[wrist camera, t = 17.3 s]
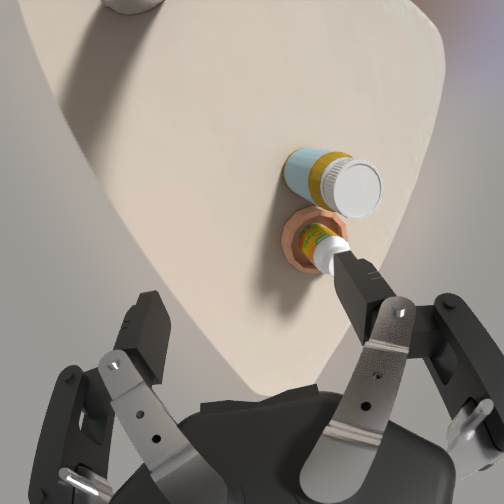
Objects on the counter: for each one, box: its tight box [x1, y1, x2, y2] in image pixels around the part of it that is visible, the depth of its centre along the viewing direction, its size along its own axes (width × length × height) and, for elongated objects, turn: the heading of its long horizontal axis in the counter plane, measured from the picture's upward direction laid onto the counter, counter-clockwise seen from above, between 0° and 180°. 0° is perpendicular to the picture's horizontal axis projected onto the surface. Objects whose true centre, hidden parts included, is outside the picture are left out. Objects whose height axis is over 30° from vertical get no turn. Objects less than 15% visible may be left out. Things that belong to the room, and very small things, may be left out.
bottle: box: [283, 148, 383, 220], centre depth 34 cm, size 7×7×15 cm
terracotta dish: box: [280, 206, 348, 274], centre depth 43 cm, size 10×10×2 cm
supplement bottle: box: [298, 223, 355, 277], centre depth 39 cm, size 5×5×10 cm
